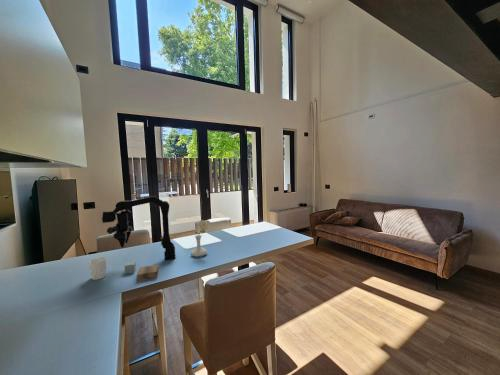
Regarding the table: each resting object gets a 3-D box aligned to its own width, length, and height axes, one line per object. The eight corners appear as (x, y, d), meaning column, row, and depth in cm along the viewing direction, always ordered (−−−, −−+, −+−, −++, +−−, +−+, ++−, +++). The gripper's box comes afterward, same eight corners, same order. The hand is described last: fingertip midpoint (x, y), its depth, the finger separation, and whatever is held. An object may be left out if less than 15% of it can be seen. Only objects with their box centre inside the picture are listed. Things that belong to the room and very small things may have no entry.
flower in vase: (195, 259, 141) (193, 223, 140) (188, 255, 150) (186, 220, 148) (212, 254, 150) (210, 219, 148) (204, 250, 158) (203, 217, 157)
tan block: (158, 270, 126) (158, 264, 126) (157, 278, 117) (156, 271, 117) (140, 273, 123) (139, 267, 123) (137, 281, 114) (136, 274, 113)
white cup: (92, 275, 122) (91, 258, 121) (108, 272, 125) (107, 256, 124) (88, 281, 115) (87, 263, 114) (105, 278, 118) (104, 261, 117)
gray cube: (136, 269, 129) (135, 261, 129) (134, 272, 124) (134, 264, 124) (127, 270, 127) (126, 262, 127) (125, 274, 123) (124, 265, 122)
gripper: (112, 219, 139) (114, 242, 140) (102, 225, 121) (104, 251, 122) (131, 217, 142) (133, 240, 143) (124, 223, 124) (126, 249, 125)
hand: (124, 244), depth 133 cm, fingers open, 9 cm apart
